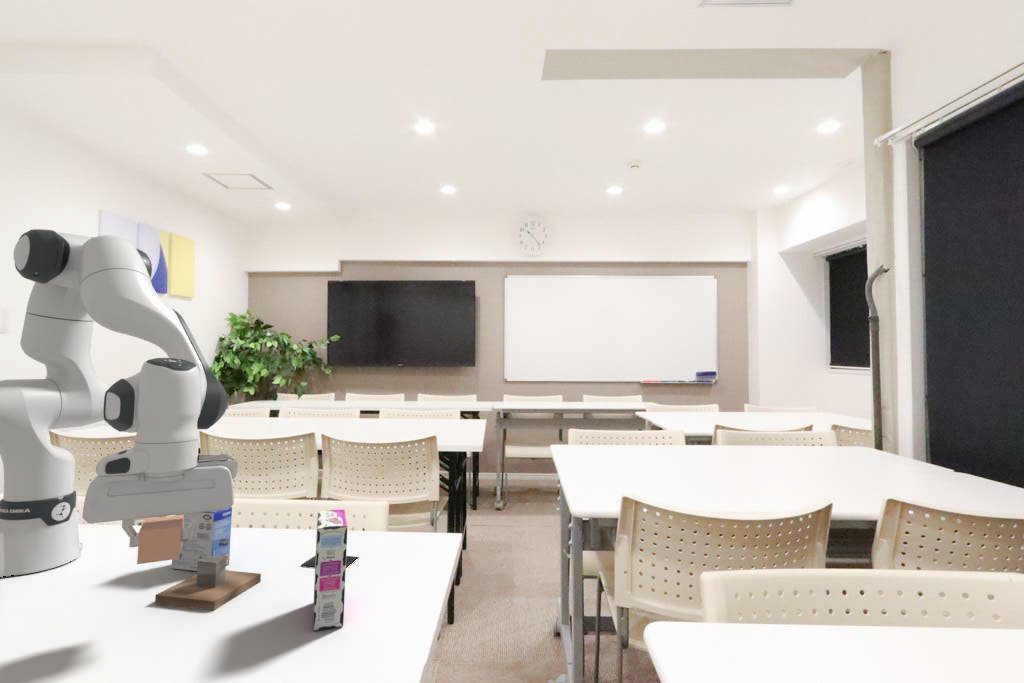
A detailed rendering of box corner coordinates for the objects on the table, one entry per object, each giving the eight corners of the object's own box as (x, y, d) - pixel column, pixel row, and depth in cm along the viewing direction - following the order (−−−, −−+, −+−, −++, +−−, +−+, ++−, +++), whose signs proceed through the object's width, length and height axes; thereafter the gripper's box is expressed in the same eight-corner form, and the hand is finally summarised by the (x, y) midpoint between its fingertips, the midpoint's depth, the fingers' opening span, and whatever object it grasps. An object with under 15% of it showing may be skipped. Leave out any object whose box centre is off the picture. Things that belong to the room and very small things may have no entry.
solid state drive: (343, 572, 105) (343, 569, 105) (300, 568, 107) (300, 565, 107) (359, 560, 112) (359, 556, 112) (318, 556, 114) (318, 553, 114)
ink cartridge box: (231, 563, 108) (234, 495, 109) (211, 574, 103) (214, 501, 103) (192, 559, 110) (195, 492, 111) (170, 569, 105) (173, 498, 105)
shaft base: (214, 610, 87) (215, 575, 88) (155, 603, 90) (156, 569, 90) (260, 581, 99) (261, 550, 100) (207, 576, 101) (208, 545, 102)
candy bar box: (345, 627, 82) (348, 525, 83) (312, 632, 81) (315, 528, 81) (342, 597, 93) (345, 507, 94) (313, 601, 91) (316, 510, 92)
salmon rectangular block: (137, 564, 78) (139, 531, 78) (143, 549, 84) (145, 518, 84) (178, 558, 80) (180, 526, 80) (182, 544, 86) (184, 514, 87)
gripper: (238, 450, 90) (234, 528, 90) (92, 457, 80) (87, 545, 80) (238, 456, 85) (234, 539, 84) (82, 465, 75) (76, 559, 74)
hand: (161, 542), depth 82 cm, fingers closed on salmon rectangular block, 5 cm apart
